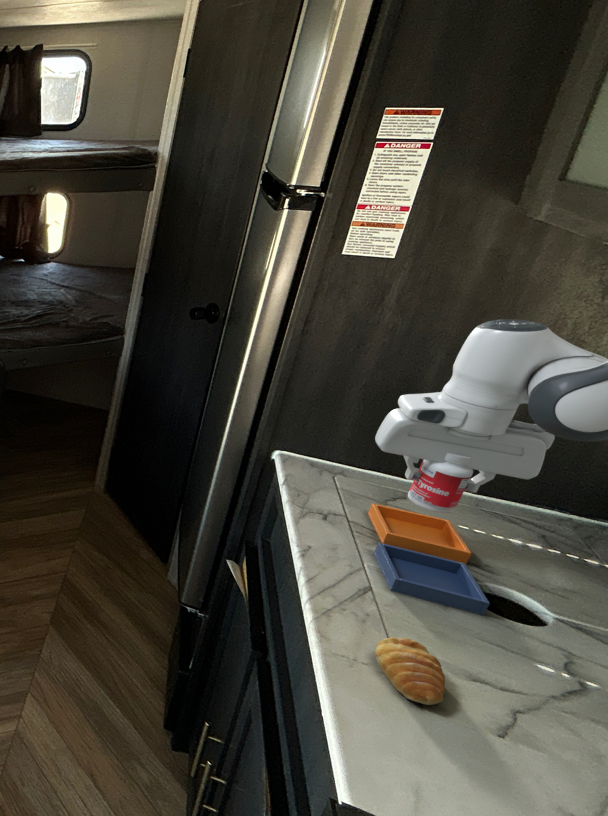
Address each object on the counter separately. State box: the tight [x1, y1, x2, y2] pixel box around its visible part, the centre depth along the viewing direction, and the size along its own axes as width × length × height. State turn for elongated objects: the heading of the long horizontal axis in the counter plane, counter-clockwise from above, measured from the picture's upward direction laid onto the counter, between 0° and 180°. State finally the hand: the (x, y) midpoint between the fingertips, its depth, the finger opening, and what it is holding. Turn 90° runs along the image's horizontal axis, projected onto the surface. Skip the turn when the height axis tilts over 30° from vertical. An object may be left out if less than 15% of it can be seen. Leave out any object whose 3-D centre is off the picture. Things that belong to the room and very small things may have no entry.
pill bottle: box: [407, 453, 474, 514], centre depth 109 cm, size 6×6×11 cm
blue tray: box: [373, 542, 491, 616], centre depth 103 cm, size 11×10×2 cm
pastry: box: [374, 636, 446, 706], centre depth 85 cm, size 9×7×4 cm
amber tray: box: [367, 502, 472, 565], centre depth 113 cm, size 11×10×2 cm
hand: (438, 484), depth 109 cm, fingers closed on pill bottle, 6 cm apart
